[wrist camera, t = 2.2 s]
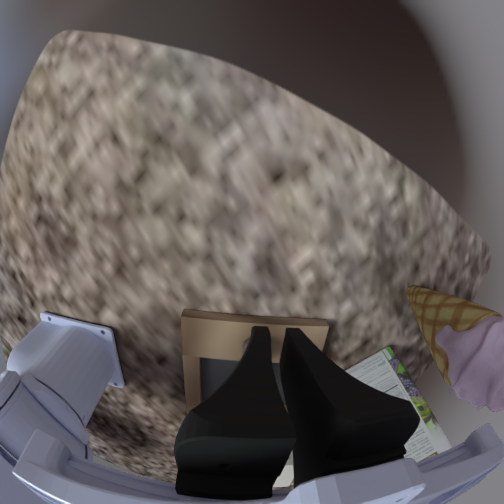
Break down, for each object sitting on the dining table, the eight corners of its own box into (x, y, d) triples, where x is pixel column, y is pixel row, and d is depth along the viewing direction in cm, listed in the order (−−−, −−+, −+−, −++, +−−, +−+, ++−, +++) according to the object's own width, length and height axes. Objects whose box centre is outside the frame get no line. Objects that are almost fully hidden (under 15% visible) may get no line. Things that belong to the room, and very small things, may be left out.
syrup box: (397, 374, 25) (453, 469, 11) (352, 399, 26) (392, 503, 12) (388, 343, 24) (459, 451, 10) (337, 372, 24) (384, 494, 11)
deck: (194, 461, 30) (193, 468, 28) (183, 309, 22) (180, 316, 20) (276, 465, 30) (277, 472, 29) (325, 319, 22) (329, 327, 21)
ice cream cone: (372, 322, 23) (457, 446, 8) (386, 258, 21) (514, 363, 7) (425, 317, 23) (513, 411, 9) (441, 259, 21) (556, 337, 7)
